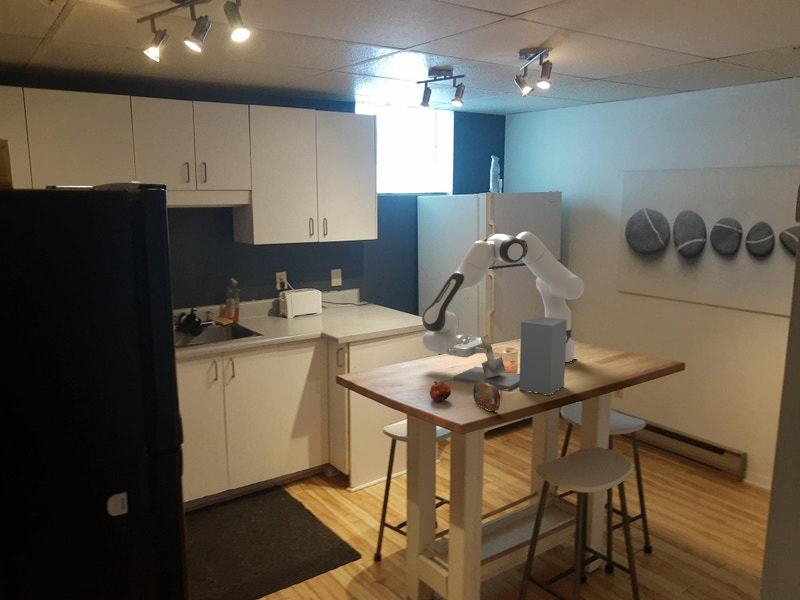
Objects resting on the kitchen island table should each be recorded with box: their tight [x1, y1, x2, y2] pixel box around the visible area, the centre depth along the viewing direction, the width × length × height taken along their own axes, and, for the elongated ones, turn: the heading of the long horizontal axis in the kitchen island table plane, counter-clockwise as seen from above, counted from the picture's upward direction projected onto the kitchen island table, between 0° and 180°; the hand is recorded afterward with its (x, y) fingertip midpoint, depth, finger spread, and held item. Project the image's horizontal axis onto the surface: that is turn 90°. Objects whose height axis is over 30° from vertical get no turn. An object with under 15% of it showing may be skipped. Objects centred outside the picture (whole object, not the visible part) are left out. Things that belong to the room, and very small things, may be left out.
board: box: [453, 366, 520, 391], centre depth 247 cm, size 24×18×2 cm
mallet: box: [480, 334, 507, 378], centre depth 245 cm, size 16×8×5 cm
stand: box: [518, 315, 567, 396], centre depth 233 cm, size 12×14×26 cm
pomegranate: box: [429, 380, 452, 405], centre depth 219 cm, size 7×7×10 cm
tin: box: [472, 381, 501, 412], centre depth 213 cm, size 15×3×8 cm, turn 21°
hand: (489, 350), depth 245 cm, fingers closed on mallet, 2 cm apart
